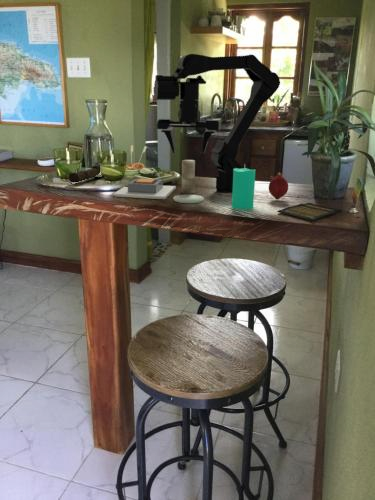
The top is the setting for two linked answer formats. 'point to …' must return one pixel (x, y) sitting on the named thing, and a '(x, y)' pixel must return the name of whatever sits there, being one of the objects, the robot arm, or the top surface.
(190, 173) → the tan cylinder
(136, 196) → the white flat square slab
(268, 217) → the top surface
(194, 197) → the mat
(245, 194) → the candle
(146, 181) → the button
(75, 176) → the dark brown elongated bar
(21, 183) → the top surface
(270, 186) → the onion
